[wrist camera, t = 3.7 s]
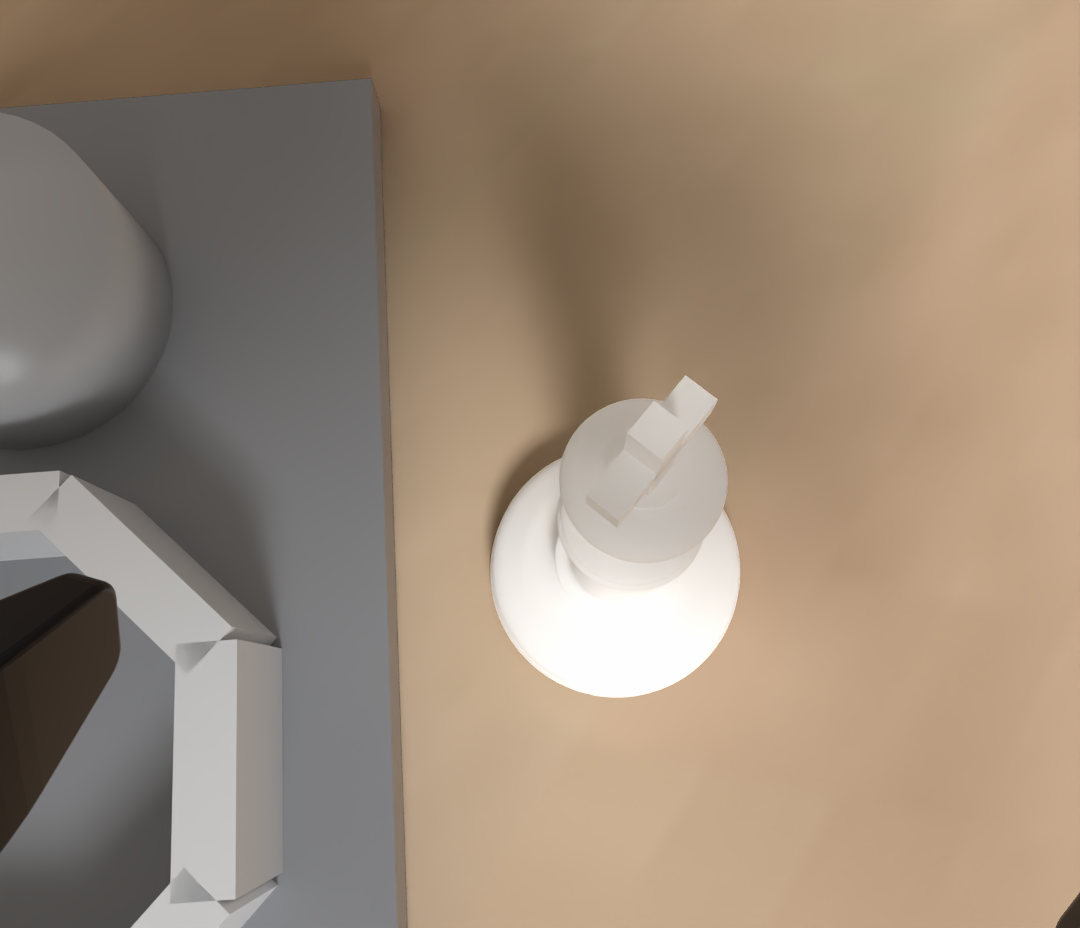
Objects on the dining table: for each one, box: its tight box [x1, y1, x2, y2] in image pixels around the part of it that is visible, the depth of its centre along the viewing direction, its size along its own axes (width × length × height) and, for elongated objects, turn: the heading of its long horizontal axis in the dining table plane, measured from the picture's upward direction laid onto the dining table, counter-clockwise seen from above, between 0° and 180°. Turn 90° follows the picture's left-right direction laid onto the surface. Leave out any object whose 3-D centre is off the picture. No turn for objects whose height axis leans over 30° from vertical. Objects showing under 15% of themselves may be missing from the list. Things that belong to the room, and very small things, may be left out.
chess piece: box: [490, 375, 740, 697], centre depth 14 cm, size 5×5×10 cm
